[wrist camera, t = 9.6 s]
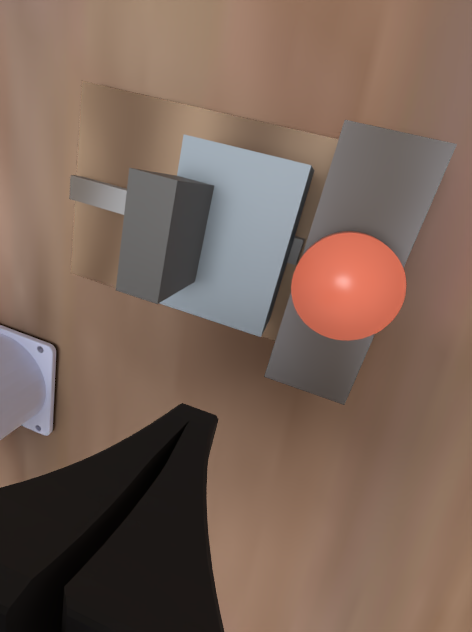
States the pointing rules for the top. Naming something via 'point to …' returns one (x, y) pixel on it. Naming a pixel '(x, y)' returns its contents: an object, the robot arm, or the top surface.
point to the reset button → (348, 286)
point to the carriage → (213, 232)
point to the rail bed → (315, 222)
